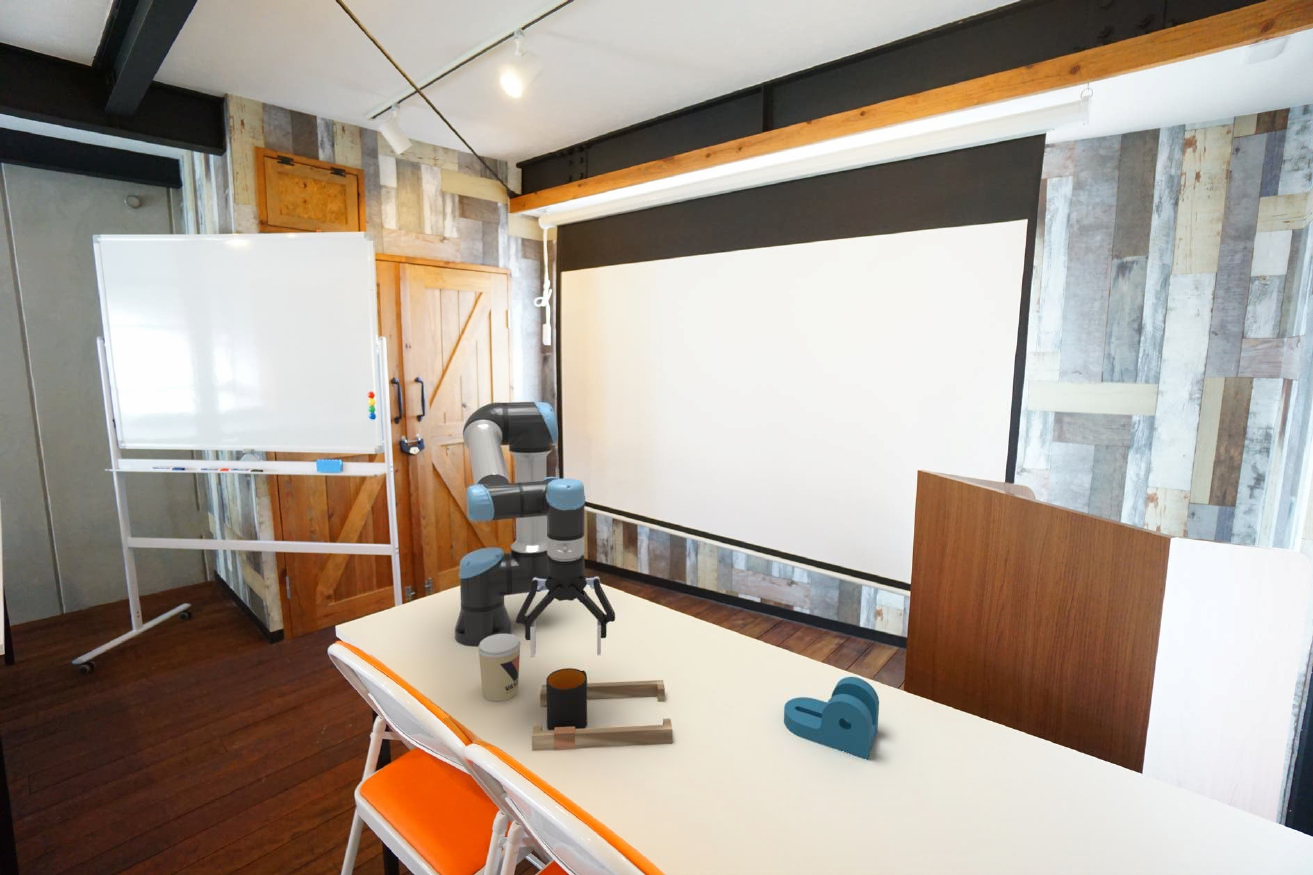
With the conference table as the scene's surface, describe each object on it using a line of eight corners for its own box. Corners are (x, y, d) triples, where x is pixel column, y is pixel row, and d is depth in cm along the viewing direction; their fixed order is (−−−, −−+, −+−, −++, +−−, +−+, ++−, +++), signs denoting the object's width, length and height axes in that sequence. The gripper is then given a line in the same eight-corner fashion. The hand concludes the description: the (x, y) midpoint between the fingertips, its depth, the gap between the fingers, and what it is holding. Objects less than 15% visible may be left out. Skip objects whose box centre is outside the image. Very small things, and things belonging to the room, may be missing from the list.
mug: (602, 709, 124) (602, 664, 123) (573, 742, 113) (573, 693, 112) (570, 700, 128) (570, 656, 126) (538, 731, 117) (538, 683, 115)
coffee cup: (510, 706, 125) (509, 654, 124) (471, 700, 127) (469, 649, 126) (528, 683, 134) (527, 635, 133) (491, 678, 136) (490, 631, 135)
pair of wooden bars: (542, 696, 129) (542, 682, 128) (662, 691, 131) (663, 677, 131) (532, 750, 111) (531, 734, 110) (672, 743, 113) (672, 727, 113)
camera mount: (877, 731, 118) (880, 683, 117) (867, 760, 109) (870, 709, 108) (792, 704, 127) (794, 660, 126) (776, 729, 118) (778, 682, 117)
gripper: (500, 562, 111) (502, 664, 114) (627, 561, 113) (626, 660, 116) (506, 549, 118) (508, 645, 122) (626, 548, 121) (625, 642, 124)
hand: (566, 652), depth 119 cm, fingers open, 13 cm apart
